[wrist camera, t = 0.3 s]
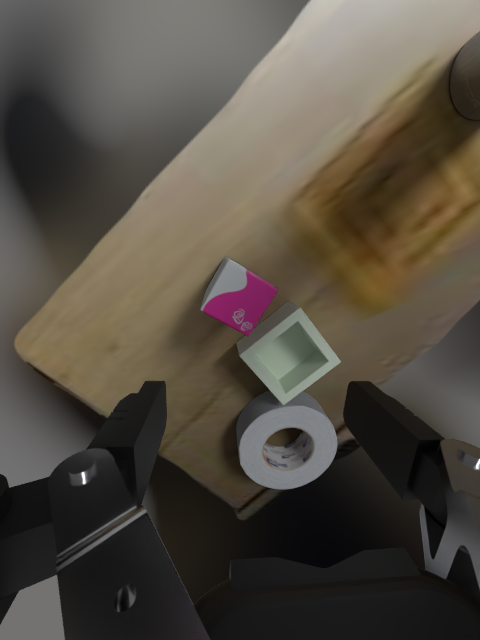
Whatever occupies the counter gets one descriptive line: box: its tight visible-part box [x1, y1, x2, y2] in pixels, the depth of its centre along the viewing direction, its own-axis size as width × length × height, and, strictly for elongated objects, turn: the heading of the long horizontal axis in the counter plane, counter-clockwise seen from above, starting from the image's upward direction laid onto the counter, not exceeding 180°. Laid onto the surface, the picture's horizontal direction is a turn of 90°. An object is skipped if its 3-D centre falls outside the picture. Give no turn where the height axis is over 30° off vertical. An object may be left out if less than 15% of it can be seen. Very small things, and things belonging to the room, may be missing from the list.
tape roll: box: [236, 390, 337, 489], centre depth 38 cm, size 15×15×5 cm
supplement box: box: [200, 257, 278, 336], centre depth 28 cm, size 6×6×12 cm
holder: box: [236, 301, 341, 405], centre depth 34 cm, size 10×10×5 cm
